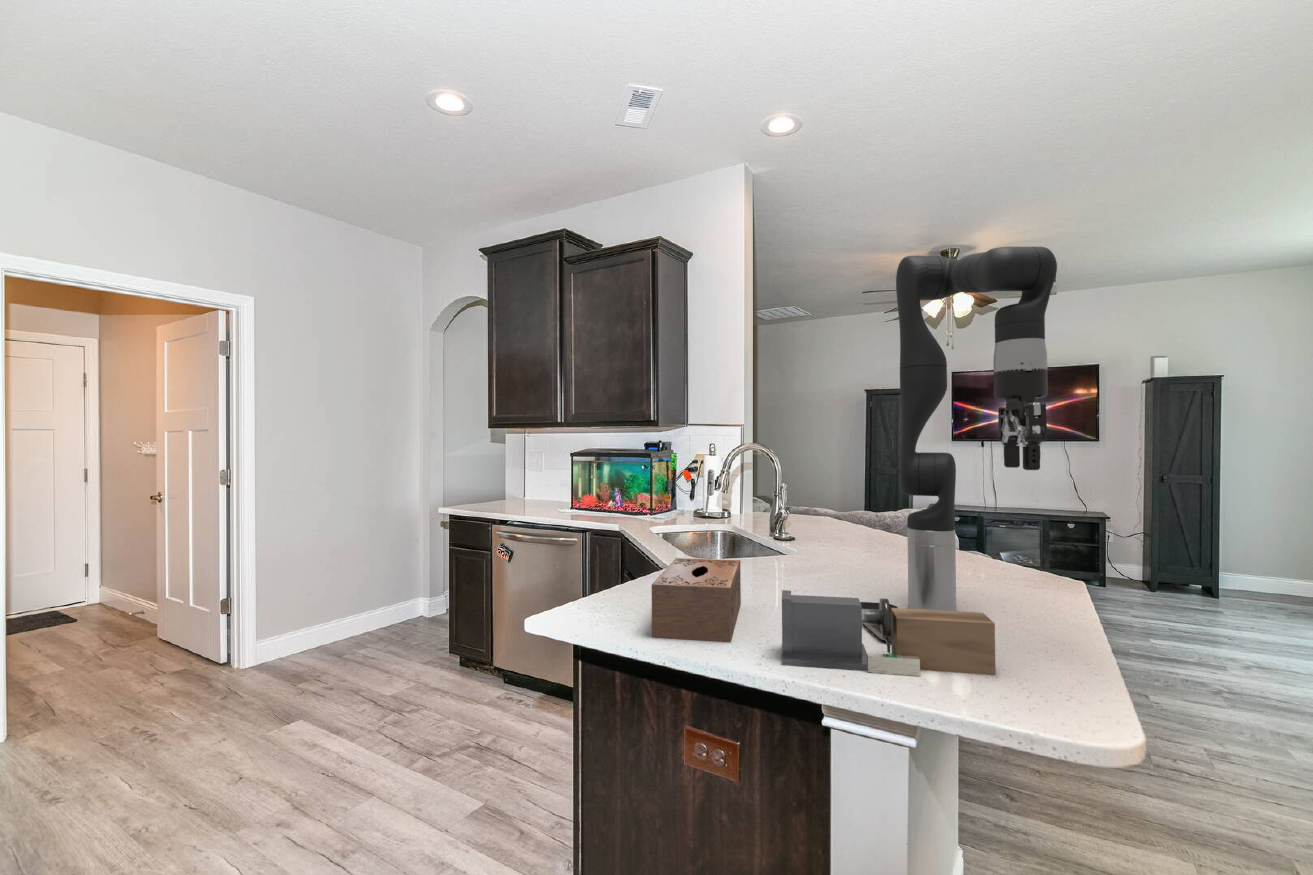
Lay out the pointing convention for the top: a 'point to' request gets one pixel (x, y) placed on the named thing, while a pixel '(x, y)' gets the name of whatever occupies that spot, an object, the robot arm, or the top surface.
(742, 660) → the top surface
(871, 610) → the plunger
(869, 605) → the black curved shell
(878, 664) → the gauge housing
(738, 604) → the tissue box cover
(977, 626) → the walnut block
